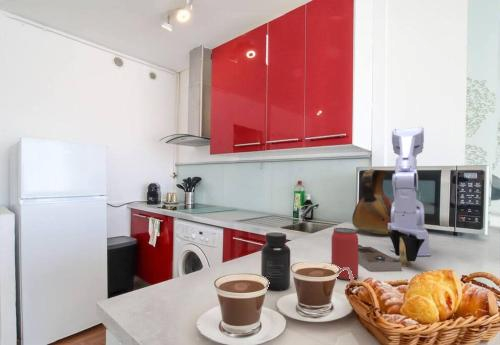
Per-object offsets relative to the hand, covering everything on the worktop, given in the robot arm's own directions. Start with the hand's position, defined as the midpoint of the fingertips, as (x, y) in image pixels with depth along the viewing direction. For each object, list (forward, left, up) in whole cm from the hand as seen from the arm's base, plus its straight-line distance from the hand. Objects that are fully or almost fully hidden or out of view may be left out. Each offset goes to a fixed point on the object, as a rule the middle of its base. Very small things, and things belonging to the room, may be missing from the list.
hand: (405, 258), depth 79 cm
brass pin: (0, 0, -2) cm, 2 cm away
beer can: (+22, +8, -2) cm, 24 cm away
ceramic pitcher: (-16, -45, -2) cm, 48 cm away
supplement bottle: (+41, +13, -2) cm, 43 cm away
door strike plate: (+9, -7, -2) cm, 12 cm away
